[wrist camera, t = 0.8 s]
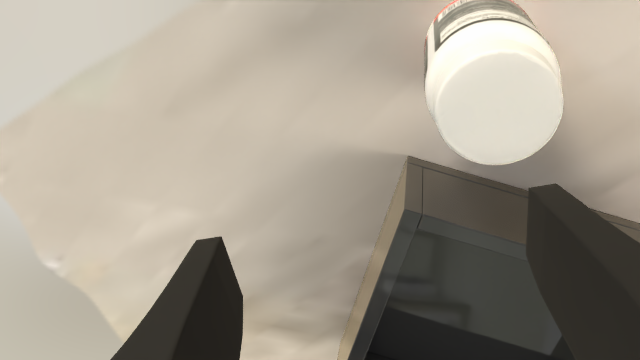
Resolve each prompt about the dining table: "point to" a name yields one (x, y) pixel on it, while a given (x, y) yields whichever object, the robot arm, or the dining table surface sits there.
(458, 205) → the dark open box
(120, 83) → the dining table surface
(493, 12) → the pill bottle
